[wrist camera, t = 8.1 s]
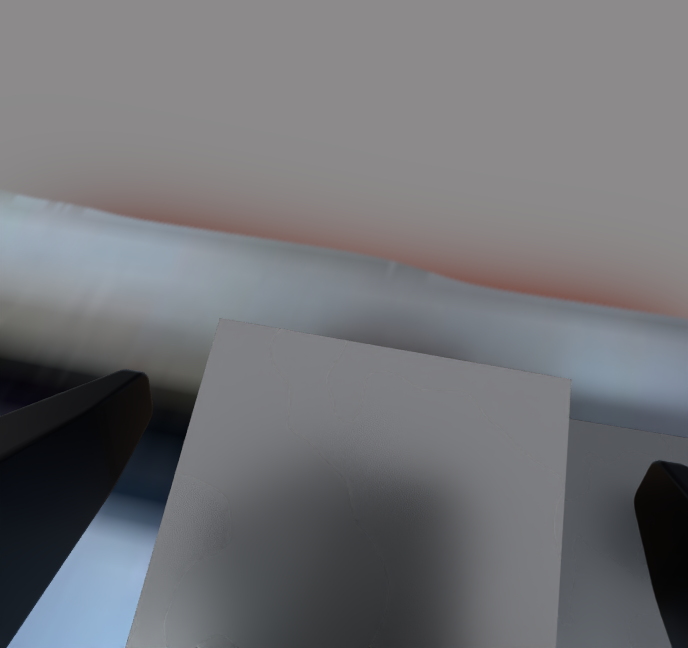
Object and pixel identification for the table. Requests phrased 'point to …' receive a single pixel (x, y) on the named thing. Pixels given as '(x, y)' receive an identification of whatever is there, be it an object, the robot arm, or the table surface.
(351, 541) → the gray block
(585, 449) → the rail
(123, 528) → the table surface
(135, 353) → the table surface
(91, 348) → the table surface
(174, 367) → the table surface
